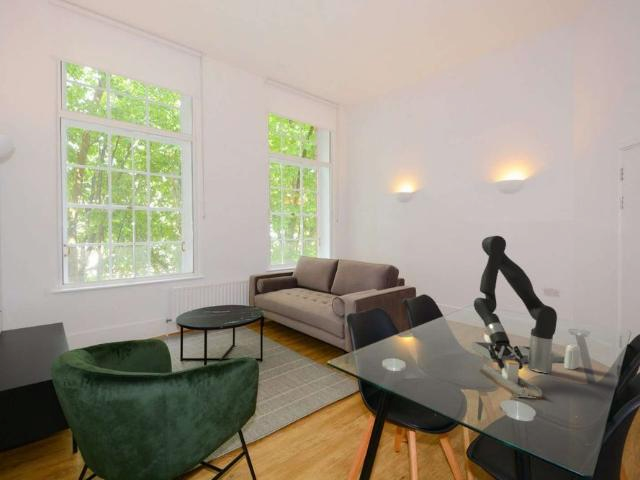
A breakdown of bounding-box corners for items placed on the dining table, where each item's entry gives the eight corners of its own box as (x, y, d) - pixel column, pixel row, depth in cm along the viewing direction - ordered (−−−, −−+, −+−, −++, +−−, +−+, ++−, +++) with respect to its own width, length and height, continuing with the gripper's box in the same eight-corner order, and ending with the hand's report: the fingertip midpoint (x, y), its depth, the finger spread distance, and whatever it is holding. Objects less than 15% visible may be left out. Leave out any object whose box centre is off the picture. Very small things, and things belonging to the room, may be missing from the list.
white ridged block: (570, 364, 180) (572, 342, 180) (579, 367, 177) (581, 344, 176) (562, 367, 174) (564, 344, 174) (571, 370, 171) (574, 347, 171)
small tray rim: (542, 352, 200) (543, 347, 200) (565, 362, 184) (565, 356, 184) (518, 350, 198) (519, 345, 198) (538, 360, 182) (539, 355, 182)
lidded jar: (485, 346, 201) (486, 331, 201) (482, 341, 212) (483, 327, 211) (504, 349, 198) (506, 334, 198) (500, 344, 208) (501, 329, 208)
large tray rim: (503, 350, 197) (503, 343, 197) (527, 362, 177) (528, 355, 177) (471, 348, 195) (472, 341, 195) (492, 361, 175) (493, 353, 175)
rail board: (502, 372, 159) (503, 365, 159) (544, 398, 134) (545, 390, 134) (479, 371, 158) (480, 364, 158) (517, 397, 132) (518, 389, 132)
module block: (512, 380, 148) (513, 360, 148) (517, 383, 144) (519, 363, 144) (501, 379, 148) (503, 359, 148) (506, 383, 144) (508, 362, 144)
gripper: (487, 330, 153) (501, 364, 142) (515, 331, 155) (531, 365, 143) (479, 337, 159) (492, 371, 147) (507, 339, 160) (521, 372, 149)
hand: (511, 368), depth 145 cm, fingers open, 8 cm apart
